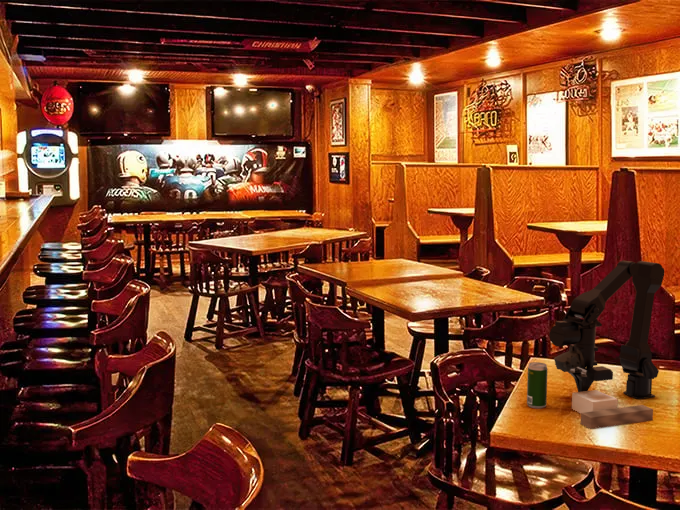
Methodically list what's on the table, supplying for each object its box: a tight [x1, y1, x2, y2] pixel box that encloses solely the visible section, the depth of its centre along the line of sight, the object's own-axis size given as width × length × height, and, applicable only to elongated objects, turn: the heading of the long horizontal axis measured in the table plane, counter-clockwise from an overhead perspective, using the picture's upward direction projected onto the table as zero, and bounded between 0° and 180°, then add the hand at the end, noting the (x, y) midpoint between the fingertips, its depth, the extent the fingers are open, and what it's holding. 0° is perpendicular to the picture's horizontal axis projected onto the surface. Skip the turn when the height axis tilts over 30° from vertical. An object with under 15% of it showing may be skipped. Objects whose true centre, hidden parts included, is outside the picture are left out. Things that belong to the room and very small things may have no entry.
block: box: [571, 389, 619, 414], centre depth 211 cm, size 8×9×5 cm
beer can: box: [526, 361, 549, 410], centre depth 216 cm, size 5×5×12 cm
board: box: [580, 404, 654, 430], centre depth 203 cm, size 20×4×3 cm, turn 110°
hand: (581, 396), depth 216 cm, fingers closed
